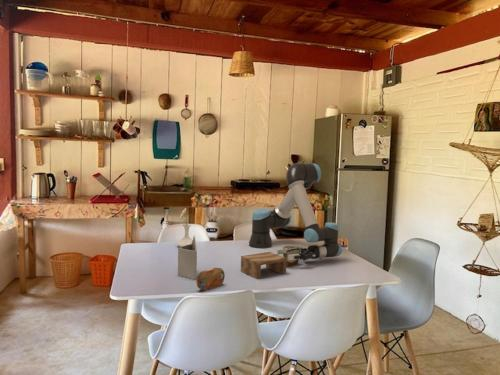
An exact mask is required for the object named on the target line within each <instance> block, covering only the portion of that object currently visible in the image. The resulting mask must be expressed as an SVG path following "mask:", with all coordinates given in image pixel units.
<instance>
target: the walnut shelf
mask: <svg viewBox="0 0 500 375" xmlns="http://www.w3.org/2000/svg"><path fill="white" fill-rule="evenodd" d="M286 259H287V258H285V257H283V255H281V254H280V255H277V253H273V252H271V251H266V252H265V251H264V252H260V253H253V254H247V255H241V256H240V272H241V273H243V274H245V275H247V276H249V277H252V278H254V279H256V280H259V279H261V272H262V271H261V270H262V266H265V268H267V269H269V270H272V271H275V272H277V273H279V274H281V275H285V274H287V268H286Z"/></svg>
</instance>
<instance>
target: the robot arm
mask: <svg viewBox="0 0 500 375" xmlns="http://www.w3.org/2000/svg"><path fill="white" fill-rule="evenodd" d="M321 178H322V170H321V167H320V166H319V165H318V164H317V163H314V162H313V163H312V162H308V163H305V162H303V163H302V162H297V163H296V162H295V163H293V164H291V165H290V166H289V167H288V169H287V170H286V178H285V179H286V184H287V187H288V191H287V192H286V194H285V195H284V197H283V198H282V200H281V202H280V203H279V204H277V205H275V206H274V208H273V210H271V209H268V208H259V209H255V210H254V211H253V212H252V216H251V220H252V222H251V224H252V225H251V226H252V227H251V235H250V237H249V238H250V239H249V241H248V246H249V247H251V248H256V249H267V248H272V247H273V241H272V237H271V229H282V228H286V227H288V226H289V225H290V223H291V221H292V220H291V219H292V214H291V212H292V210H293V209H294V207H296V206H297V209H298V211H299V214H300V216H301V220H302V223H303V225H304V228H305V230H304V232H303V238H304V239H305V241H306V242H307V243H318V242H324V243H321V244H311V245H308V247H307V248H305V247H304V248H303V247H301V246H300V252H299V254H293V255H288V260H297V259H299V260H300V261H301V260H302V261H307V260H314V259H320V260H321V259H322V258H323V259H324V258H334V257H339V256H341V254H342V252H343V249H342V245H341V244H340V243H338V241H339V224H338V223H336V222H325V224H324V227H323V226H321V227H320V225H319V222H318V220H317V216H316V215H315V212H314V209H313V207H312V204H311V201H310V198H309V197H308V193H307V191H306V190H308V189H311V187H312V185H313V184H314V183H319V182H320V180H321ZM276 254H277V255H280V256H281V255H283V252H282V248H281V249H280V248H279V249H276Z"/></svg>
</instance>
